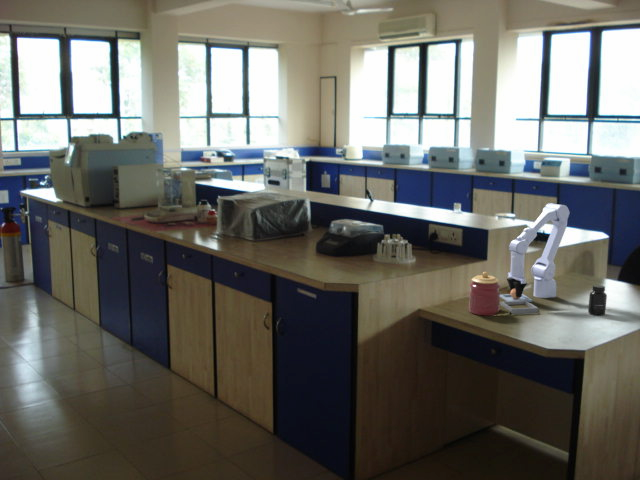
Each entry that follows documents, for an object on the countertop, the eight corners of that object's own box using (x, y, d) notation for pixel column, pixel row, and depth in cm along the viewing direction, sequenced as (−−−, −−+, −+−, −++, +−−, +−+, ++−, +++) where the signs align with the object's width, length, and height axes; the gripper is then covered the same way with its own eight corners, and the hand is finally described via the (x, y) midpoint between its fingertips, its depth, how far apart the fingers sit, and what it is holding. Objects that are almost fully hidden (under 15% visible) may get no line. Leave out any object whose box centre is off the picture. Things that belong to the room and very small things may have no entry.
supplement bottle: (597, 316, 282) (599, 288, 280) (584, 312, 288) (586, 285, 286) (609, 314, 285) (611, 286, 283) (595, 310, 291) (597, 283, 289)
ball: (518, 297, 310) (519, 286, 309) (523, 300, 305) (523, 289, 304) (508, 297, 309) (508, 287, 309) (513, 300, 305) (513, 289, 304)
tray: (525, 305, 300) (525, 300, 299) (538, 313, 288) (538, 307, 288) (500, 306, 298) (500, 301, 298) (511, 314, 286) (511, 309, 286)
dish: (521, 297, 314) (521, 293, 313) (532, 303, 303) (532, 299, 303) (499, 298, 312) (499, 294, 312) (509, 304, 301) (509, 300, 301)
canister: (503, 315, 285) (505, 275, 282) (473, 316, 284) (474, 275, 281) (493, 307, 298) (495, 268, 294) (464, 308, 297) (466, 268, 294)
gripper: (502, 263, 311) (501, 291, 314) (515, 270, 297) (514, 299, 299) (516, 262, 312) (515, 291, 315) (531, 269, 298) (529, 299, 300)
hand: (515, 295), depth 307 cm, fingers closed on ball, 5 cm apart
